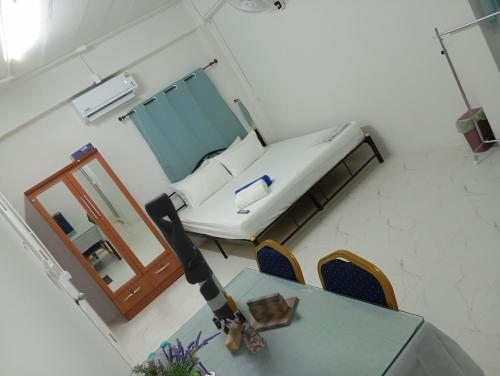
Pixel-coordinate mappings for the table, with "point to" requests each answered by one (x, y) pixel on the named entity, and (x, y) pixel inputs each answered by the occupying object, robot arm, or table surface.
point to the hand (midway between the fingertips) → (237, 332)
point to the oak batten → (234, 337)
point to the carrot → (230, 301)
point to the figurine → (251, 338)
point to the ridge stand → (271, 311)
